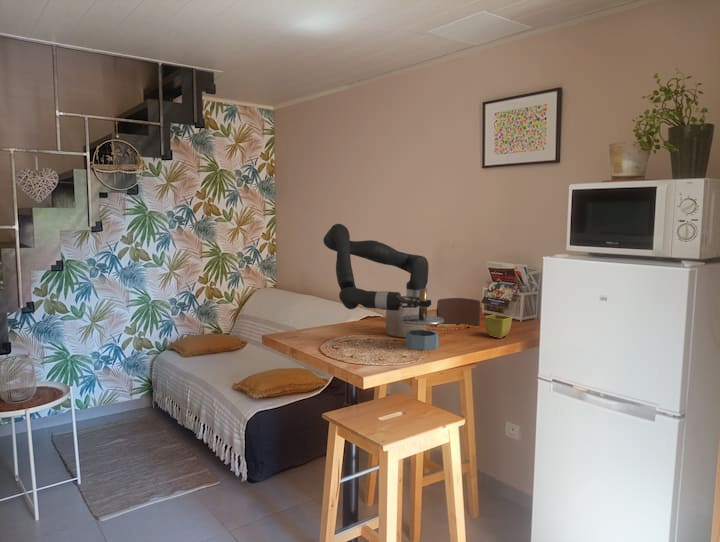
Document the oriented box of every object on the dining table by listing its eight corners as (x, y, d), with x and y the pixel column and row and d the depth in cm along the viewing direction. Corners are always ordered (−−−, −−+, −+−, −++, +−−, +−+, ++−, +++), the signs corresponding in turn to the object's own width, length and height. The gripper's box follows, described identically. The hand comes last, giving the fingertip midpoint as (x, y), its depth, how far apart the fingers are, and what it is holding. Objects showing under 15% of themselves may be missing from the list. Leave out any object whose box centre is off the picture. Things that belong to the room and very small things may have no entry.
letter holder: (479, 328, 254) (480, 298, 252) (436, 327, 256) (437, 297, 255) (477, 324, 264) (478, 295, 262) (436, 323, 266) (436, 294, 264)
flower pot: (512, 337, 237) (512, 316, 236) (502, 340, 230) (503, 319, 229) (493, 334, 243) (494, 314, 242) (483, 337, 236) (484, 316, 235)
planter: (402, 340, 228) (402, 303, 226) (377, 332, 243) (378, 297, 241) (434, 335, 238) (435, 300, 236) (408, 328, 253) (409, 294, 251)
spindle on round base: (431, 315, 228) (432, 285, 227) (451, 323, 213) (453, 291, 211) (394, 317, 222) (394, 286, 221) (412, 326, 207) (413, 292, 205)
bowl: (427, 341, 227) (428, 328, 226) (443, 348, 215) (443, 335, 215) (401, 344, 222) (401, 331, 221) (416, 351, 211) (416, 337, 210)
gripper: (383, 294, 214) (427, 296, 209) (392, 289, 227) (433, 291, 222) (383, 312, 215) (426, 316, 210) (391, 307, 228) (433, 309, 223)
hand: (430, 303), depth 216 cm, fingers closed on spindle on round base, 3 cm apart
